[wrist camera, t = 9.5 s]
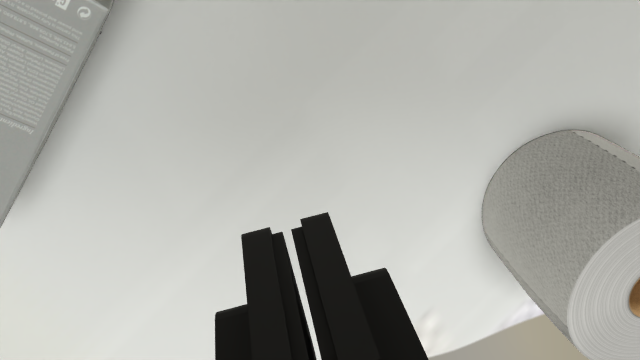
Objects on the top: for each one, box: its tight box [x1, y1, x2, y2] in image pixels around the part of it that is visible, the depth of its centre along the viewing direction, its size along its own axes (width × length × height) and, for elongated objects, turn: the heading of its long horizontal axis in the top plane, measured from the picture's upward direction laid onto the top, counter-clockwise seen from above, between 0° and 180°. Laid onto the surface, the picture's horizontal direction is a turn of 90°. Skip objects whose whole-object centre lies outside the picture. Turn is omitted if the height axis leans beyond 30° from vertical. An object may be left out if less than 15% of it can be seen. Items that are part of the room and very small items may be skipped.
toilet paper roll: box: [482, 130, 640, 360], centre depth 41 cm, size 12×12×12 cm
